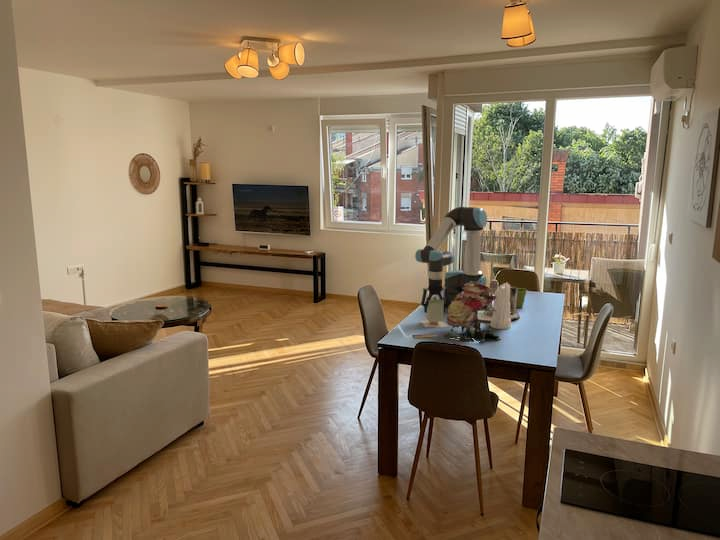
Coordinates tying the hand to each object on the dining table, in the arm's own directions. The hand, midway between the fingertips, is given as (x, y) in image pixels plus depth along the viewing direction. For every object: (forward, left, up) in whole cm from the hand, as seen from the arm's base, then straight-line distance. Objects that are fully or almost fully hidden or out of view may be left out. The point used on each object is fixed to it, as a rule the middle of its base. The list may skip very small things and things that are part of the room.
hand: (434, 317), depth 298 cm
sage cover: (0, 0, -1) cm, 1 cm away
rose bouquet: (+23, +12, -5) cm, 26 cm away
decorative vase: (+6, +37, -5) cm, 38 cm away
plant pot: (-36, +65, -5) cm, 74 cm away
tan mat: (+15, -11, -4) cm, 19 cm away
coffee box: (-24, +54, -5) cm, 59 cm away
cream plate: (0, 0, -4) cm, 4 cm away
